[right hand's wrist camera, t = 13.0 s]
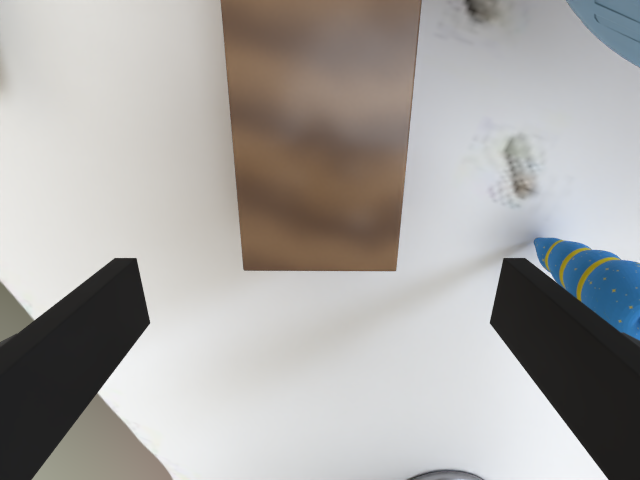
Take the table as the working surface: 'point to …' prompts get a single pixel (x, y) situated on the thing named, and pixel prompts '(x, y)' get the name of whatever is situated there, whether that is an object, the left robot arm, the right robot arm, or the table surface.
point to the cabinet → (320, 129)
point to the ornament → (596, 280)
